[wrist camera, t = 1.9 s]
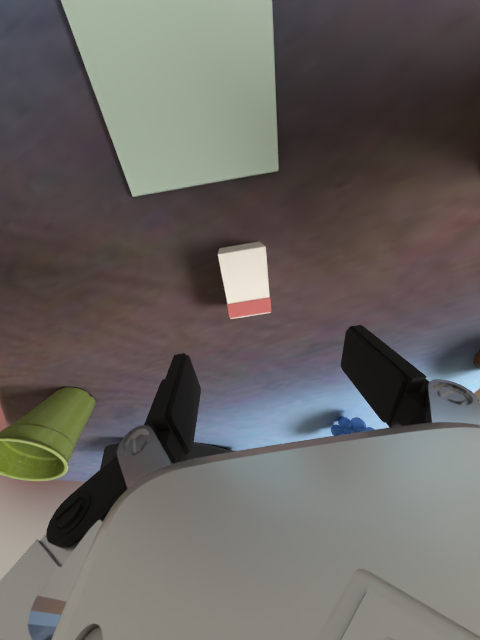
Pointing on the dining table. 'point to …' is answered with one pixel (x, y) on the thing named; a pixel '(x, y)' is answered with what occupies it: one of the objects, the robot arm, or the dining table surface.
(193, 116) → the mat
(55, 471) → the plant pot
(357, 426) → the grapes
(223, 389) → the dining table surface
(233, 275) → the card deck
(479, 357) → the food container
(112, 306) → the dining table surface
